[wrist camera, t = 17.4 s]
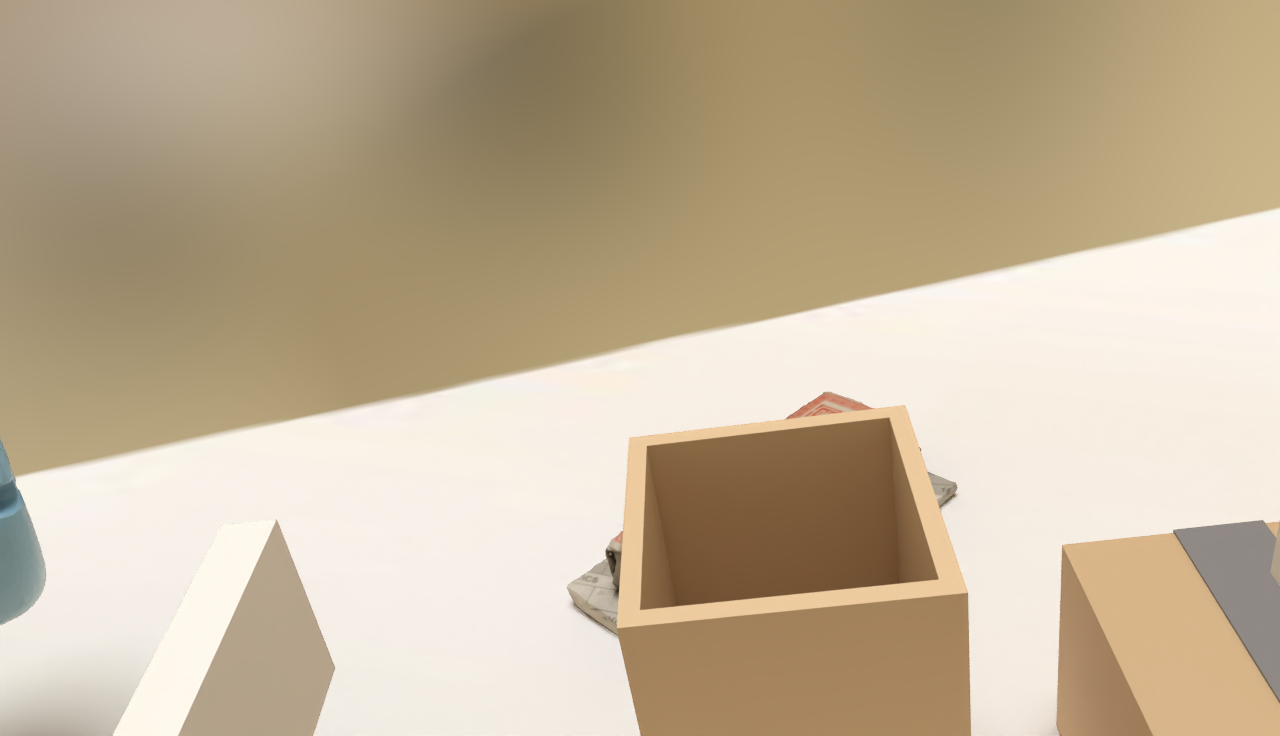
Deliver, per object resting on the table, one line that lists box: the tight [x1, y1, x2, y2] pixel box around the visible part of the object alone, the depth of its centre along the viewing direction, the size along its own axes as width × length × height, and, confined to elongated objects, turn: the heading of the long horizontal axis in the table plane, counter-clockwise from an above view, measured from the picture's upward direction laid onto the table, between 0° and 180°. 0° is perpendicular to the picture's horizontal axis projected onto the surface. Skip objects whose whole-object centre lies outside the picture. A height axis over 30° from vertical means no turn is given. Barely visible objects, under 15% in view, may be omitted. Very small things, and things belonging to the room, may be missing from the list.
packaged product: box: [567, 392, 957, 635], centre depth 55 cm, size 18×5×10 cm
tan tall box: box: [617, 405, 971, 736], centre depth 37 cm, size 9×9×16 cm
